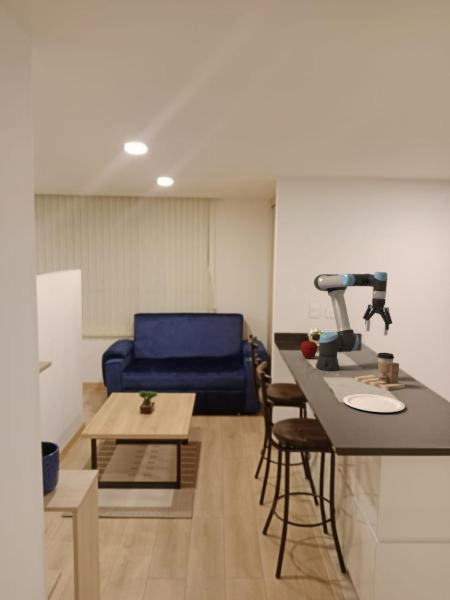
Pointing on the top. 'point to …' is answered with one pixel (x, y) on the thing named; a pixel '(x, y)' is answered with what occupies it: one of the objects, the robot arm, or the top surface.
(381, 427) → the top surface
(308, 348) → the apple
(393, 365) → the brown box
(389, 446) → the top surface
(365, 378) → the board
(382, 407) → the plate
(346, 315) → the robot arm
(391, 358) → the coffee cup
